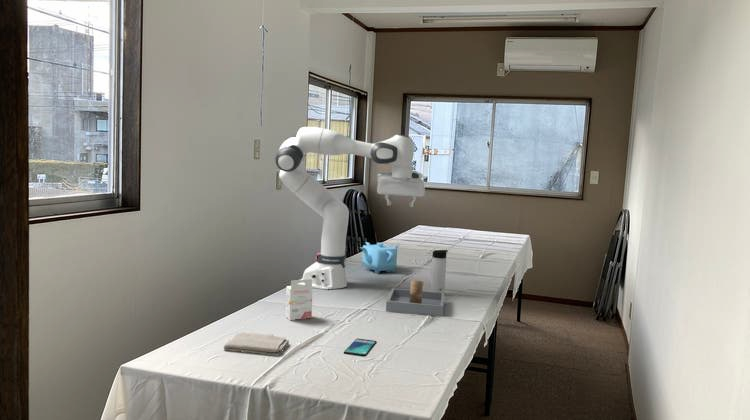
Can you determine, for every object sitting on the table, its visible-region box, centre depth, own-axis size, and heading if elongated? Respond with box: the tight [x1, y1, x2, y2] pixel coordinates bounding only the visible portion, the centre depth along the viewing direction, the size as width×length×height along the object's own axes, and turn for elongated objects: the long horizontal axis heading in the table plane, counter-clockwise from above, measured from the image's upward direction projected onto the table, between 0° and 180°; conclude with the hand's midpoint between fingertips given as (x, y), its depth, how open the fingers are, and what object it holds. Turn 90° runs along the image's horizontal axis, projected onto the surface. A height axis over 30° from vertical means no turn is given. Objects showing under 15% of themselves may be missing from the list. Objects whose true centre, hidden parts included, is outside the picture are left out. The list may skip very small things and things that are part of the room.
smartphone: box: [343, 338, 378, 357], centre depth 188 cm, size 7×1×15 cm
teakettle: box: [359, 241, 400, 274], centre depth 305 cm, size 19×19×15 cm
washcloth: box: [223, 332, 290, 356], centre depth 183 cm, size 12×18×3 cm, turn 84°
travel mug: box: [429, 249, 448, 294], centre depth 262 cm, size 6×7×20 cm
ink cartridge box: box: [285, 279, 313, 321], centre depth 215 cm, size 9×5×15 cm, turn 117°
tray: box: [385, 287, 445, 317], centre depth 240 cm, size 22×22×4 cm
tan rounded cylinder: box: [409, 280, 424, 304], centre depth 240 cm, size 5×5×9 cm
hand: (400, 206), depth 251 cm, fingers open, 8 cm apart
